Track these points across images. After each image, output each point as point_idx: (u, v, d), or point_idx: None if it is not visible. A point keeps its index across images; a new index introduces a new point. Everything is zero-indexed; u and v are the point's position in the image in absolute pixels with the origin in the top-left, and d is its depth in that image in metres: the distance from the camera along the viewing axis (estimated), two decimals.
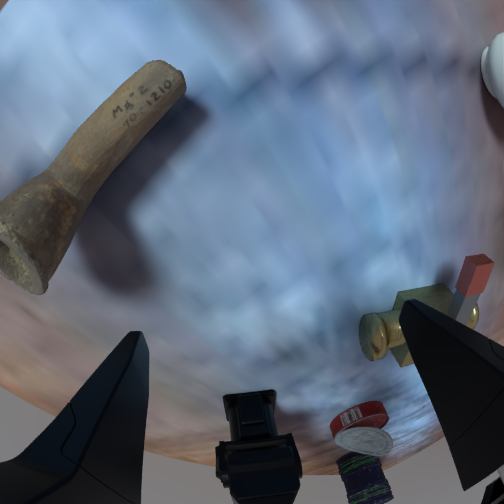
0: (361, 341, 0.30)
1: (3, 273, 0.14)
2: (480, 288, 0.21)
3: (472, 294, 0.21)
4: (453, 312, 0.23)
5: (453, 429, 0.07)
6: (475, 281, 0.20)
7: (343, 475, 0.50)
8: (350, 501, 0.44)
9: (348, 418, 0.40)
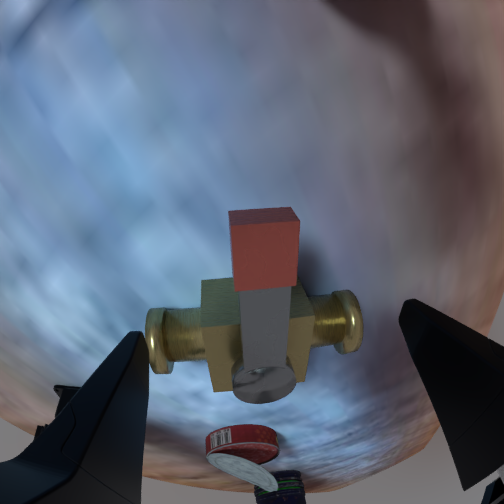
0: None
1: None
2: (280, 276, 0.13)
3: (259, 287, 0.13)
4: (240, 319, 0.15)
5: (452, 429, 0.07)
6: (249, 261, 0.13)
7: (256, 499, 0.42)
8: None
9: (216, 440, 0.32)
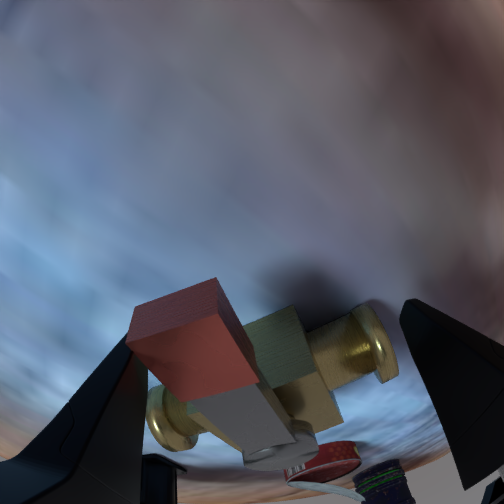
0: None
1: None
2: (230, 379, 0.09)
3: (209, 393, 0.09)
4: None
5: (453, 429, 0.07)
6: (176, 373, 0.08)
7: None
8: None
9: (291, 468, 0.28)
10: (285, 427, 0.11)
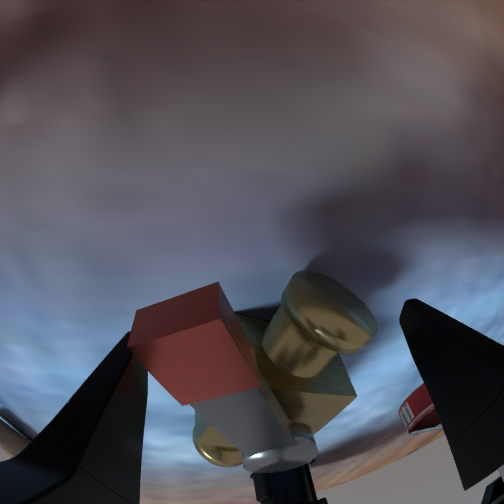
0: None
1: None
2: (231, 383, 0.09)
3: (210, 397, 0.09)
4: None
5: (453, 429, 0.07)
6: (177, 377, 0.08)
7: None
8: None
9: (404, 420, 0.26)
10: (285, 430, 0.11)
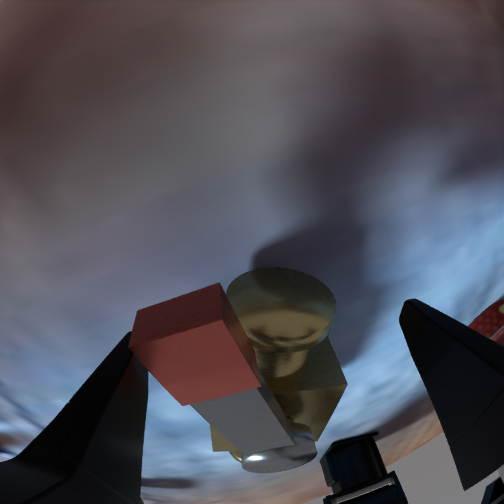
0: None
1: None
2: (232, 383, 0.09)
3: (211, 397, 0.09)
4: None
5: (453, 429, 0.07)
6: (178, 377, 0.08)
7: None
8: None
9: None
10: (284, 430, 0.11)
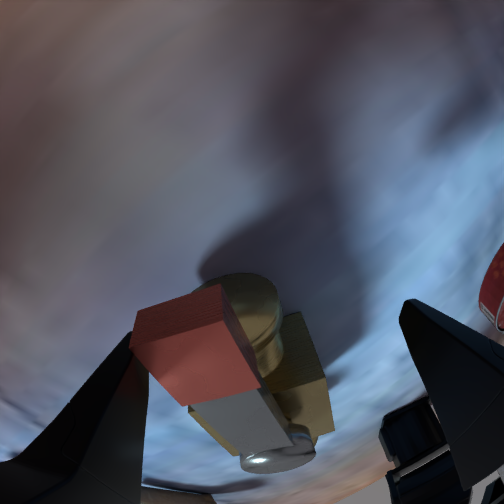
0: None
1: None
2: (232, 384, 0.09)
3: (210, 398, 0.09)
4: None
5: (453, 429, 0.07)
6: (178, 377, 0.08)
7: None
8: None
9: (490, 321, 0.20)
10: (284, 431, 0.11)
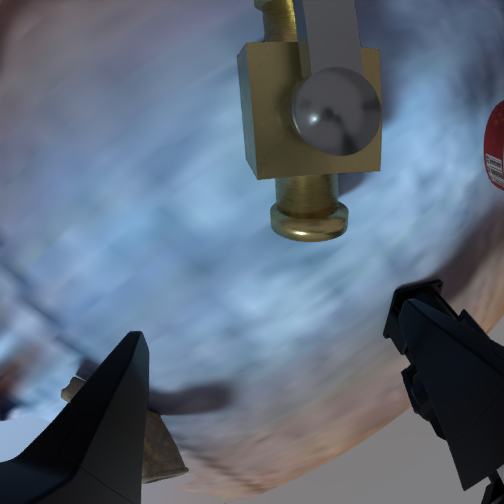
0: None
1: (181, 474, 0.27)
2: None
3: None
4: None
5: (452, 429, 0.07)
6: None
7: None
8: None
9: (497, 176, 0.20)
10: (358, 33, 0.10)
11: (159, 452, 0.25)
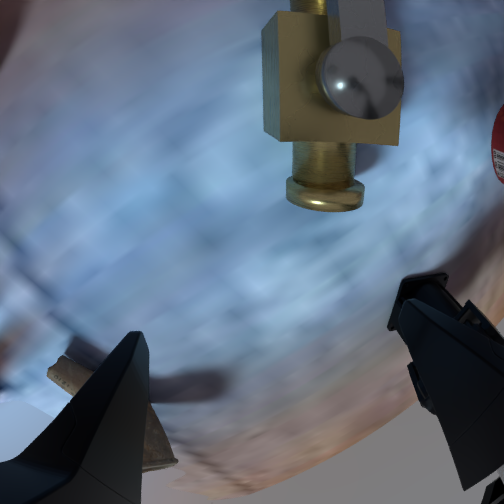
0: None
1: (169, 466, 0.26)
2: None
3: None
4: None
5: (453, 429, 0.07)
6: None
7: None
8: None
9: None
10: (384, 9, 0.09)
11: (148, 440, 0.24)
